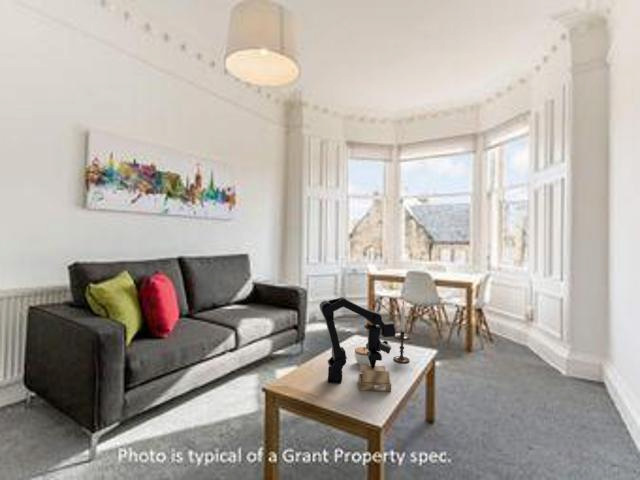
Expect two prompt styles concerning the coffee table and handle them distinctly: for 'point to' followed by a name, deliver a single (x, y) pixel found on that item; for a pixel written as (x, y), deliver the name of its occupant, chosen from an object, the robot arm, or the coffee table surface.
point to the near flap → (375, 376)
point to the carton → (373, 385)
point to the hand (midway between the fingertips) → (372, 368)
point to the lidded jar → (362, 356)
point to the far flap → (368, 367)
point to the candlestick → (401, 337)
